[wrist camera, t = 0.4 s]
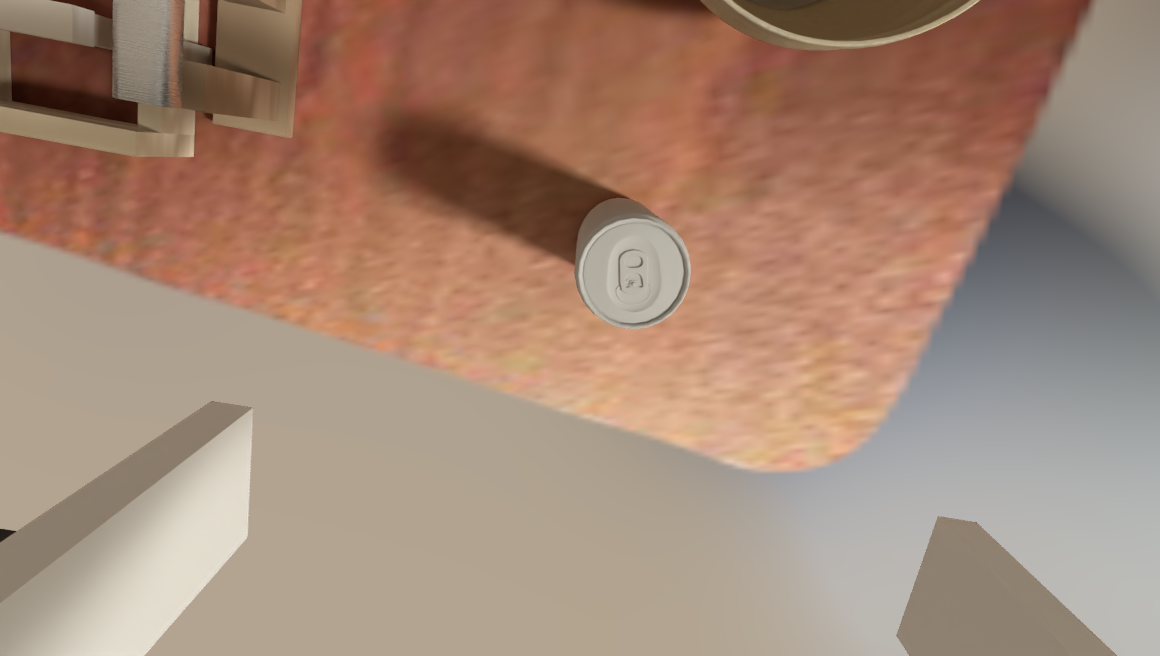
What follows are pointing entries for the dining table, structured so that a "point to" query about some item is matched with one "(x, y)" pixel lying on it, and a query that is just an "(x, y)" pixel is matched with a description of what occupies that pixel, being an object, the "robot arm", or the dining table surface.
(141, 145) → the beige open frame
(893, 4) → the planter bowl
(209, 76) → the cream cubby shelf
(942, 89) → the dining table surface
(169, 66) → the hammer
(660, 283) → the beverage can
